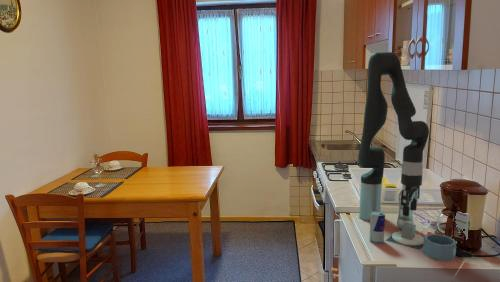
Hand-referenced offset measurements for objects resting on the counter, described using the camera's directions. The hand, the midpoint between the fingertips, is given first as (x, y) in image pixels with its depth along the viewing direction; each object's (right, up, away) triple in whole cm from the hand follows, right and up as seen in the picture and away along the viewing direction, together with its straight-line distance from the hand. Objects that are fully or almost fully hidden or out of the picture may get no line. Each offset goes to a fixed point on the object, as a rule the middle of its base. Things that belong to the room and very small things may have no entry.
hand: (409, 212), depth 150 cm
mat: (0, -11, +2) cm, 12 cm away
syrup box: (+19, -13, -3) cm, 23 cm away
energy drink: (-13, -12, 0) cm, 18 cm away
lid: (0, -11, +2) cm, 11 cm away
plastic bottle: (+4, -10, +14) cm, 17 cm away
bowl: (+6, -13, -11) cm, 18 cm away
